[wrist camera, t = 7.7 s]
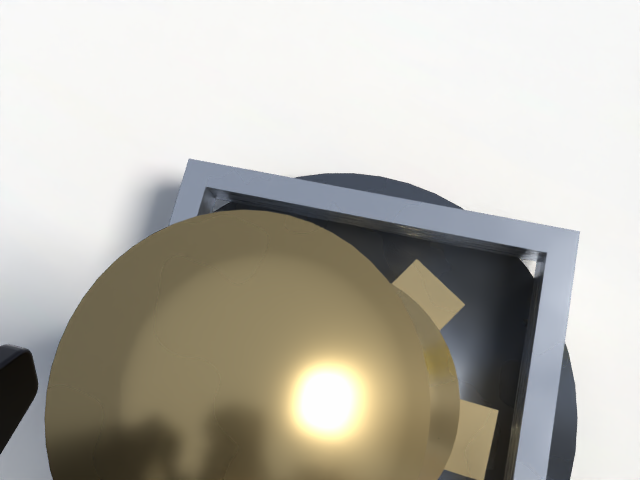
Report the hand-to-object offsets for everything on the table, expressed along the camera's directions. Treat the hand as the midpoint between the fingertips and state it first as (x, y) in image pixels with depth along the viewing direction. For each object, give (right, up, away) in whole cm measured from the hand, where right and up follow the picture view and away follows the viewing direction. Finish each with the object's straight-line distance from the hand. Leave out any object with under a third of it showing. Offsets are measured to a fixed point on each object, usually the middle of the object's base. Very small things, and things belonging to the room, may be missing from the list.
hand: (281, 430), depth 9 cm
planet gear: (+1, -2, +8) cm, 8 cm away
